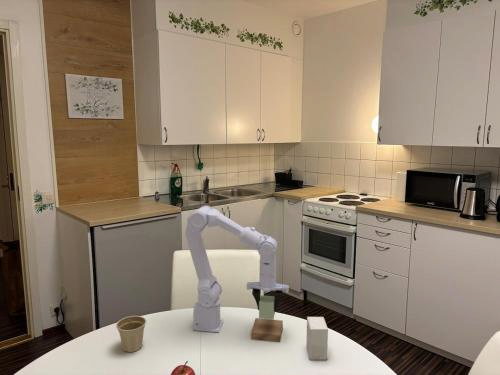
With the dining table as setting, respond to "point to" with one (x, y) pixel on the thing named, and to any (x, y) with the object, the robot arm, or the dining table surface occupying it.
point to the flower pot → (131, 332)
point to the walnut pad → (267, 330)
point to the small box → (317, 338)
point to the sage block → (266, 307)
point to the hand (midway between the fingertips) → (267, 309)
